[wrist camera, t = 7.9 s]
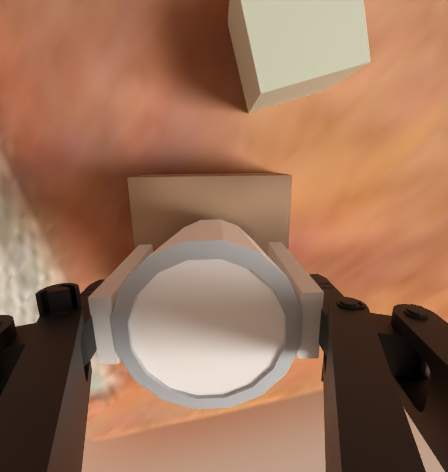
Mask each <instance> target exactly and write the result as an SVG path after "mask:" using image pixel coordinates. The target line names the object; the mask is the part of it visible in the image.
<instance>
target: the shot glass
mask: <svg viewBox="0 0 448 472" xmlns="http://www.w3.org/2000/svg"><path fill="white" fill-rule="evenodd" d="M302 316H303V311H302V308H301V306H300V304H299V301H298V299H297V297H296V294H295V292H294V289H293V287H292V285H291V282H290V280H289V278H288V277H287V276H286V275H285V274H284V273H283V272H282V271H281V270H280V269H279V268H278V266H277V265H276V264H275V263H274V262H273V261H272V260H271V259H270V258H269V257H268V256H267V255H266V254H265V252H264V251H263V250H262V249H261V248H260V247H259V246H258V245H257V244H256V243H255V242H254V241H253V239H252V238H251V237H249V236H248V235H247V234H246V233H245V232H244V231H243V230H242V229H241V228H240V227H239V226H237V225H235V224H232V223H229V222H226V221H224V220H221V219H210V220H199V221H197V222H195V223H193V224H191V225H188V226H186V227H184V228H183V229H181V230H180V231H179V232H178V233H176V234H175V235H174V236H173V237H171V238H170V239H169V240H168V241H166V242H165V243H164V244H163V245H161V246H160V247H159V248H158V249H156V250H155V251H154V252H153V253H151V254H150V255H149V256H148V257H146V258H145V260H144V261H143V262H142V263H141V264H140V265H139V266H138V267H137V268H136V269H135V271H134V272H133V273H132V274H131V275H130V276H129V277H128V278H127V279H126V280H125V281H124V283H123V284H122V285H121V287H120V290H119V294H118V297H117V300H116V303H115V307H114V310H113V313H112V316H111V323H112V330H113V337H114V343H115V350H116V353H117V354H118V356H119V357H120V359H121V361H122V362H123V364H124V365H125V367H126V368H127V370H128V371H129V373H130V375H131V376H132V378H133V379H134V380H135V381H136V382H138V383H139V384H140V385H142V386H143V387H145V388H146V389H147V390H149V391H150V392H152V393H153V394H154V395H156V396H157V397H159V398H160V399H161V400H165V401H168V402H171V403H175V404H178V405H182V406H185V407H189V408H192V409H212V408H230V407H233V406H235V405H238V404H241V403H243V402H246V401H248V400H251V399H254V398H256V397H259V396H261V395H262V394H264V393H265V392H266V391H267V390H268V389H269V388H271V387H272V386H273V385H274V384H275V383H276V382H277V381H279V380H280V379H281V378H282V377H283V376H284V375H285V374H287V372H288V370H289V368H290V366H291V364H292V362H293V360H294V358H295V356H296V354H297V352H298V350H299V348H300V346H301V340H302Z"/></svg>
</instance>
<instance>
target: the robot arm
mask: <svg viewBox="0 0 448 472" xmlns="http://www.w3.org/2000/svg"><path fill="white" fill-rule="evenodd" d="M151 253H153V246H152V244H149V245H138V246H137V247H136V248H135V250H134V251H133V252H132V253H131V254H130V255H129V256H128V257H127V258H126V259H125V260H124V261H123V262H122V263H121V264H120V265H119V266H118V267H117V268H116V269H115V270H114V271H113V272H112V273H111V274H110V275H109V276H108V277H107V278H106V280H98V281H96V282H94V283H92V284H90V285H89V286H88V287H87V288H86V289H85V291H83V292H82V293H81V294H80V291H79V286H78V285H77V284H74V283H62V284H56V285H52V286H49V287H46V288H44V289H42V290H40V291H38V292H37V293H36V294H35V295H36V300H37V305H38V310H39V315H40V317H39V319H38V321H37V323H34V324H28V325H23V326H17V327H15V324H14V320H13V317H12V316H9V315H0V472H81V470H82V461H83V451H84V441H85V432H86V422H87V413H88V403H89V394H90V384H91V375H92V368H91V361H90V360H91V358H92V356H93V355H94V353H95V352H96V355H97V362H98V364H119V362H120V360H121V359H120V357H119V356H118V354H117V353H116V350H115V343H114V337H113V330H112V323H111V316H112V313H113V310H114V307H115V303H116V300H117V297H118V294H119V290H120V287H121V285H122V284H123V283H124V281H125V280H126V279H127V278H128V277H129V276H130V275H131V274H132V273H133V272H134V271H135V269H136V268H137V267H138V266H139V265H140V264H141V263H142V262H143V261H144V260H145V258H146V257H148V256H149V255H150V254H151ZM268 257H269V258H270V259H271V260H272V261H273V262H274V263H275V264H276V265H277V266H278V268H279V269H280V270H281V271H282V272H283V273H284V274H285V275H286V276H287V277H288V278H289V280H290V282H291V285H292V287H293V289H294V292H295V294H296V297H297V299H298V301H299V304H300V306H301V308H302V311H303V316H302V340H301V346H300V348H299V350H298V352H297V356H298V359H307V358H318V356H319V345H320V346H321V348H322V350H323V351H324V358H323V369H322V380H321V381H323V383H324V421H325V458H326V472H426V471H425V468H424V466H423V462H422V460H421V457H420V454H419V451H418V448H417V445H416V442H415V440H414V437H413V434H412V431H411V428H410V425H409V422H408V420H407V417H406V414H405V411H404V409H405V410H406V412H407V413H408V415H409V416H410V418H411V419H412V421H413V422H414V424H415V425H416V427H417V429H418V430H419V432H420V433H421V435H422V436H423V438H424V439H425V441H426V443H427V444H428V446H429V447H430V449H431V450H432V452H433V453H434V455H435V456H436V458H437V460H438V461H439V463H440V464H441V466H442V467H443V469H444V470H445V472H448V323H447V322H446V321H444V320H443V319H442V318H440V317H439V316H438V315H437V314H435V313H433V312H432V311H430V310H428V309H425V308H423V307H422V306H418V305H417V306H416V305H413V304H410V305H408V304H400V305H396V306H394V308H393V313H392V316H388V315H381V314H375V313H370V311H369V308H368V307H367V305H366V304H364V303H363V302H361V301H359V300H357V299H354V298H349V297H344V296H343V295H342V294H341V293H340V292H339V291H338V290H337V289H336V288H335V287H334V286H333V285H332V284H331V283H330V282H329V281H328V280H327V278H325V277H323V276H321V275H319V274H308V273H307V271H306V270H305V269H304V268H303V267H302V266H301V264H300V263H299V262H298V261H297V260H296V258H295V257H294V256H293V255H292V254H291V252H290V251H289V250H288V249H287V248H286V247H285V245H284V244H283V243H282V242H269V251H268ZM429 372H430V373H429ZM403 407H404V408H403Z"/></svg>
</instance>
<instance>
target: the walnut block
mask: <svg viewBox="0 0 448 472" xmlns="http://www.w3.org/2000/svg"><path fill="white" fill-rule="evenodd" d="M127 181H128V191H129V201H130V212H131V222H132V232H133V242H134V250H135V248H136V247H137V246H138V245H149V244H152V246H153V252H154V251H155V250H156V249H158V248H159V247H160V246H161V245H163V244H164V243H165V242H166V241H168V240H169V239H170V238H171V237H173V236H174V235H175V234H176V233H178V232H179V231H180V230H181V229H183V228H184V227H186V226H188V225H191V224H193V223H195V222H197V221H199V220H210V219H221V220H224V221H226V222H229V223H232V224H235V225H237V226H239V227H240V228H241V229H242V230H243V231H244V232H245V233H246V234H247V235H248V236H249V237H251V238H252V239H253V241H254V242H255V243H256V244H257V245H258V246H259V247H260V248H261V249H262V250H263V251H264V252H265V254H266V255H267V256H268V251H269V242H282V243H283V244H284V245H285V247H286V248H287V249H288V245H289V224H290V204H291V184H292V175H287V174H281V173H212V174H146V175H140V176H133V177H127Z"/></svg>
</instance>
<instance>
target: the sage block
mask: <svg viewBox="0 0 448 472" xmlns="http://www.w3.org/2000/svg"><path fill="white" fill-rule="evenodd" d="M228 27H229V32H230V36H231V40H232V45H233V49H234V53H235V58H236V62H237V66H238V71H239V75H240V79H241V84H242V88H243V92H244V97H245V101H246V105H247V110H248V113H251V112H255V111H258V110H262V109H265V108H269V107H272V106H276V105H279V104H283V103H286V102H290V101H293V100H297V99H300V98H303V97H307V96H310V95H314V94H317V93H321V92H324V91H327V90H329V89H330V88H332V87H333V86H335V85H336V84H338V83H339V82H341V81H342V80H344V79H345V78H347V77H348V76H350V75H351V74H353V73H354V72H356V71H357V70H359V69H360V68H362V67H363V66H365V65H367V64H368V63H370V62H371V60H370V51H369V43H368V34H367V26H366V18H365V9H364V1H363V0H229V11H228Z"/></svg>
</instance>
